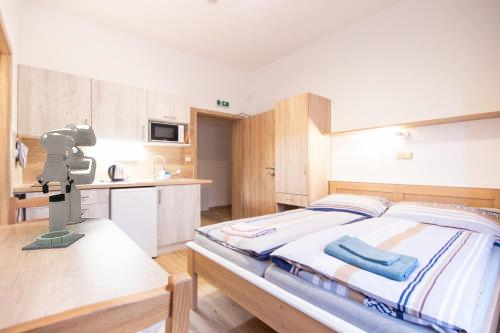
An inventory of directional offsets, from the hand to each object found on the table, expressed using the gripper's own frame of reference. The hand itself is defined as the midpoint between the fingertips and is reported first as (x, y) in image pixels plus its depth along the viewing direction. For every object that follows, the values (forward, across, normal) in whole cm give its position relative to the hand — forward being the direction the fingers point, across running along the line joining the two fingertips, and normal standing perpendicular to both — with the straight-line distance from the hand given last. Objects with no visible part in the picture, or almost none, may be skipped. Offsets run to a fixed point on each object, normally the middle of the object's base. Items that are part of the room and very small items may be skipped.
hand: (57, 193), depth 116 cm
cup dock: (+21, -6, +12) cm, 25 cm away
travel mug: (+21, 0, -1) cm, 21 cm away
